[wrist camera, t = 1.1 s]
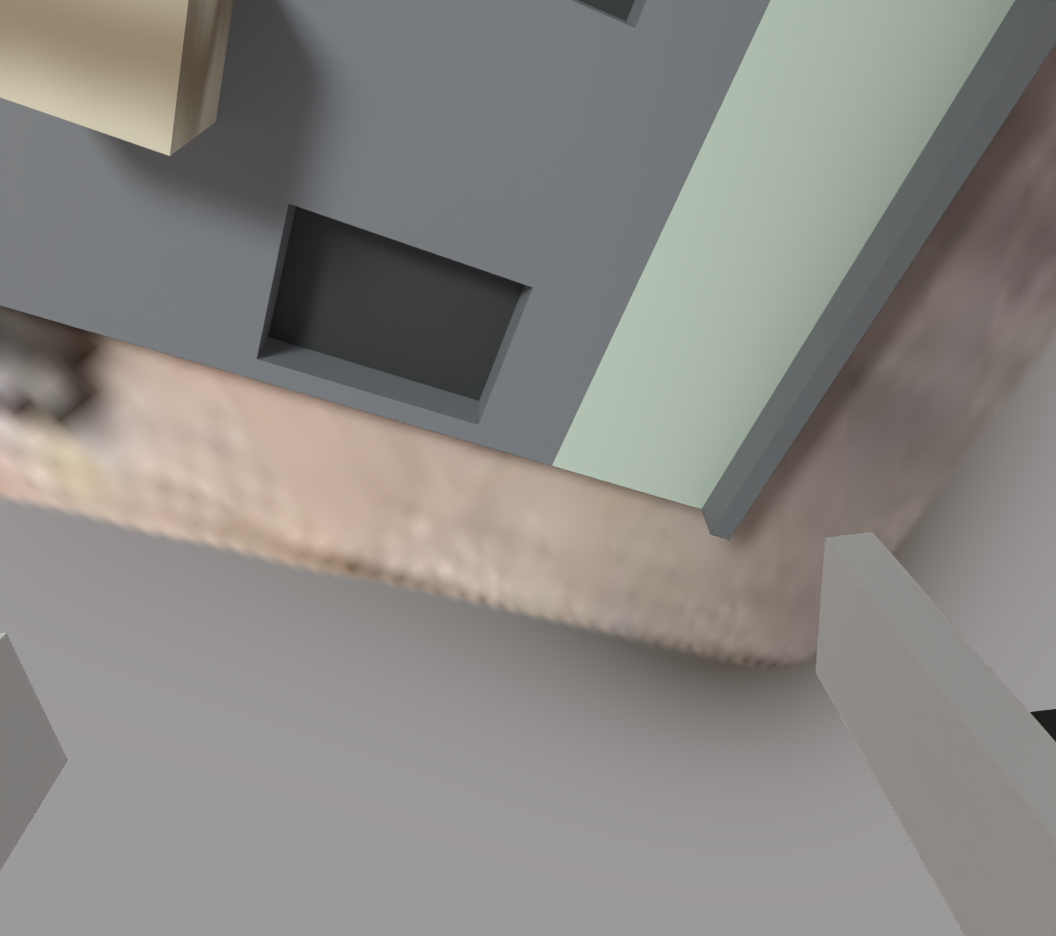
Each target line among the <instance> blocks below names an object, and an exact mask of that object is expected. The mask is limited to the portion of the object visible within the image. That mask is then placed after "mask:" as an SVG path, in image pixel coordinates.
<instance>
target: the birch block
mask: <svg viewBox="0 0 1056 936" xmlns="http://www.w3.org/2000/svg"><path fill="white" fill-rule="evenodd" d="M233 2H234V0H0V98H3V99H6V100H9V101H12V102H15V103H18V104H21V105H24V106H26V107H29V108H32V109H35V110H38V111H41V112H44V113H47V114H50V115H53V116H55V117H58V118H61V119H64V120H67V121H70V122H73V123H76V124H79V125H82V126H84V127H87V128H90V129H93V130H96V131H99V132H102V133H105V134H108V135H110V136H113V137H116V138H119V139H122V140H125V141H128V142H131V143H134V144H137V145H139V146H142V147H145V148H148V149H151V150H154V151H157V152H160V153H163V154H165V155H168V156H170V155H172V154H173V153H175V152H176V151H177V150H179V149H180V148H181V147H183V146H184V145H185V144H187V143H188V142H189V141H191V140H192V139H194V138H195V137H196V136H198V135H199V134H200V133H202V132H203V131H204V130H206V129H207V128H208V127H210V126H211V125H212V124H214V123H215V122H216V117H217V110H218V103H219V97H220V90H221V83H222V76H223V70H224V63H225V56H226V49H227V42H228V36H229V29H230V22H231V15H232V8H233Z"/></svg>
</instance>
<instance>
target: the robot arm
mask: <svg viewBox="0 0 1056 936" xmlns="http://www.w3.org/2000/svg"><path fill="white" fill-rule="evenodd" d="M816 660H817V661H816V674H817V676H818V678H819V679H820V681H821V683H822V685H823V687H824V689H825V690H826V692H827V694H828V696H829V697H830V699H831V701H832V703H833V704H834V706H835V708H836V710H837V711H838V713H839V715H840V717H841V719H842V720H843V722H844V724H845V726H846V727H847V729H848V731H849V733H850V734H851V736H852V738H853V740H854V741H855V743H856V745H857V747H858V748H859V750H860V752H861V754H862V755H863V757H864V759H865V761H866V762H867V764H868V766H869V768H870V770H871V771H872V773H873V775H874V777H875V778H876V780H877V782H878V784H879V785H880V787H881V789H882V791H883V792H884V794H885V796H886V798H887V800H888V801H889V803H890V805H891V806H892V808H893V810H894V812H895V814H896V815H897V817H898V819H899V821H900V823H901V824H902V826H903V828H904V829H905V831H906V833H907V835H908V837H909V838H910V840H911V842H912V844H913V845H914V847H915V849H916V851H917V852H918V854H919V856H920V858H921V860H922V861H923V863H924V865H925V867H926V868H927V870H928V872H929V874H930V875H931V877H932V879H933V881H934V882H935V884H936V886H937V888H938V889H939V891H940V893H941V895H942V896H943V898H944V900H945V902H946V904H947V905H948V907H949V909H950V911H951V912H952V914H953V916H954V918H955V919H956V921H957V923H958V925H959V927H960V928H961V930H962V932H963V933H964V935H965V936H1056V709H1052V710H1044V711H1035V712H1029V711H1028V710H1027V709H1026V707H1025V706H1024V705H1023V704H1022V703H1021V702H1020V700H1019V699H1018V698H1017V697H1016V696H1015V695H1014V694H1013V692H1012V691H1011V690H1010V689H1009V688H1008V687H1007V685H1006V684H1005V683H1004V682H1003V681H1002V680H1001V679H1000V678H999V676H997V674H996V673H995V672H994V671H993V669H992V668H991V667H990V666H989V665H988V664H987V663H986V662H985V660H984V659H983V658H982V657H981V656H980V655H979V653H978V652H977V651H976V650H975V649H974V648H973V647H972V645H971V644H970V643H969V642H968V641H967V640H966V639H965V637H964V636H963V635H962V634H961V633H960V632H959V630H958V629H957V628H956V627H955V626H954V625H953V624H952V622H950V620H949V619H948V618H947V617H946V616H945V614H944V613H943V612H942V611H941V610H940V609H939V608H938V606H937V605H936V604H935V603H934V602H933V601H932V600H931V598H930V597H929V596H928V595H927V594H926V593H925V592H924V590H923V589H922V588H921V587H920V586H919V585H918V584H917V582H916V581H915V580H914V579H913V578H912V577H911V575H910V574H909V573H908V572H907V571H906V570H905V569H904V567H903V566H902V565H901V564H900V563H899V562H898V561H897V559H896V558H895V557H894V556H893V555H892V554H891V553H890V551H889V550H888V549H887V548H886V547H885V546H884V545H883V543H882V542H881V541H880V540H879V539H878V538H877V537H876V535H875V534H874V533H873V532H869V533H860V534H852V535H843V536H835V537H826V538H825V545H824V559H823V573H822V588H821V602H820V616H819V630H818V645H817V659H816ZM66 762H67V758H66V756H65V754H64V751H63V750H62V747H61V745H60V743H59V741H58V739H57V737H56V735H55V733H54V731H53V729H52V727H51V724H50V722H49V720H48V718H47V716H46V714H45V712H44V710H43V708H42V706H41V704H40V702H39V700H38V698H37V695H36V693H35V692H34V689H33V687H32V685H31V683H30V681H29V679H28V677H27V675H26V673H25V671H24V669H23V666H22V664H21V662H20V660H19V658H18V656H17V654H16V652H15V650H14V648H13V646H12V644H11V642H10V640H9V638H8V635H7V633H0V870H1V868H2V867H3V865H4V863H5V862H6V860H7V858H8V857H9V855H10V853H11V852H12V850H13V849H14V847H15V845H16V844H17V842H18V840H19V839H20V837H21V836H22V834H23V832H24V831H25V829H26V827H27V826H28V824H29V822H30V821H31V819H32V818H33V816H34V814H35V813H36V811H37V809H38V808H39V806H40V804H41V803H42V801H43V800H44V798H45V796H46V795H47V793H48V791H49V790H50V788H51V786H52V785H53V783H54V782H55V780H56V778H57V777H58V775H59V773H60V772H61V770H62V769H63V767H64V765H65V764H66Z"/></svg>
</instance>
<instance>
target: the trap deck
mask: <svg viewBox="0 0 1056 936" xmlns="http://www.w3.org/2000/svg"><path fill="white" fill-rule="evenodd" d="M1055 44H1056V0H234V2H233V8H232V15H231V22H230V29H229V36H228V42H227V49H226V56H225V63H224V70H223V76H222V83H221V90H220V97H219V103H218V110H217V117H216V122H215V123H214V124H212V125H211V126H210V127H208V128H207V129H206V130H204V131H203V132H202V133H200V134H199V135H198V136H196V137H195V138H194V139H192V140H191V141H189V142H188V143H187V144H185V145H184V146H183V147H181V148H180V149H179V150H177V151H176V152H175V153H173V154H172V155H170V156H168V155H165V154H163V153H160V152H157V151H154V150H151V149H148V148H145V147H142V146H139V145H137V144H134V143H131V142H128V141H125V140H122V139H119V138H116V137H113V136H110V135H108V134H105V133H102V132H99V131H96V130H93V129H90V128H87V127H84V126H82V125H79V124H76V123H73V122H70V121H67V120H64V119H61V118H58V117H55V116H53V115H50V114H47V113H44V112H41V111H38V110H35V109H32V108H29V107H26V106H24V105H21V104H18V103H15V102H12V101H9V100H6V99H3V98H0V305H1V306H4V307H8V308H11V309H14V310H18V311H21V312H25V313H28V314H32V315H35V316H39V317H42V318H45V319H49V320H52V321H56V322H59V323H63V324H66V325H69V326H73V327H76V328H80V329H83V330H87V331H90V332H94V333H97V334H100V335H104V336H107V337H111V338H114V339H118V340H121V341H125V342H128V343H131V344H135V345H138V346H142V347H145V348H149V349H152V350H155V351H159V352H162V353H166V354H169V355H173V356H176V357H180V358H183V359H186V360H190V361H193V362H197V363H200V364H204V365H207V366H211V367H214V368H217V369H221V370H224V371H228V372H231V373H235V374H238V375H242V376H245V377H248V378H252V379H255V380H259V381H262V382H266V383H269V384H272V385H276V386H279V387H283V388H286V389H290V390H293V391H297V392H300V393H303V394H307V395H310V396H314V397H317V398H321V399H324V400H328V401H331V402H334V403H338V404H341V405H345V406H348V407H352V408H355V409H359V410H362V411H365V412H369V413H372V414H376V415H379V416H383V417H386V418H389V419H393V420H396V421H400V422H403V423H407V424H410V425H414V426H417V427H420V428H424V429H427V430H431V431H434V432H438V433H441V434H445V435H448V436H451V437H455V438H458V439H462V440H465V441H469V442H472V443H475V444H479V445H482V446H486V447H489V448H493V449H496V450H500V451H503V452H506V453H510V454H513V455H517V456H520V457H524V458H527V459H531V460H534V461H537V462H541V463H544V464H548V465H551V466H555V467H558V468H562V469H565V470H568V471H572V472H575V473H579V474H582V475H586V476H589V477H592V478H596V479H599V480H603V481H606V482H610V483H613V484H617V485H620V486H623V487H627V488H630V489H634V490H637V491H641V492H644V493H648V494H651V495H654V496H658V497H661V498H665V499H668V500H672V501H675V502H678V503H682V504H685V505H689V506H692V507H696V508H699V509H702V512H703V515H704V518H705V521H706V524H707V526H708V529H709V532H710V535H713V536H717V537H720V538H724V539H727V540H729V539H730V537H731V536H732V534H733V533H734V531H735V530H736V528H737V527H738V525H739V524H740V522H741V521H742V519H743V518H744V516H745V515H746V513H747V512H748V510H749V509H750V507H751V506H752V504H753V503H754V501H755V499H756V498H757V496H758V495H759V493H760V492H761V490H762V489H763V487H764V486H765V484H766V483H767V481H768V480H769V478H770V477H771V475H772V474H773V472H774V471H775V469H776V468H777V466H778V465H779V463H780V462H781V460H782V458H783V457H784V455H785V454H786V452H787V451H788V449H789V448H790V446H791V445H792V443H793V442H794V440H795V439H796V437H797V436H798V434H799V433H800V431H801V430H802V428H803V427H804V425H805V424H806V422H807V420H808V419H809V417H810V416H811V414H812V413H813V411H814V410H815V408H816V407H817V405H818V404H819V402H820V401H821V399H822V398H823V396H824V395H825V393H826V392H827V390H828V389H829V387H830V386H831V384H832V382H833V381H834V379H835V378H836V376H837V375H838V373H839V372H840V370H841V369H842V367H843V366H844V364H845V363H846V361H847V360H848V358H849V357H850V355H851V354H852V352H853V351H854V349H855V348H856V346H857V345H858V343H859V341H860V340H861V338H862V337H863V335H864V334H865V332H866V331H867V329H868V328H869V326H870V325H871V323H872V322H873V320H874V319H875V317H876V316H877V314H878V313H879V311H880V310H881V308H882V307H883V305H884V303H885V302H886V300H887V299H888V297H889V296H890V294H891V293H892V291H893V290H894V288H895V287H896V285H897V284H898V282H899V281H900V279H901V278H902V276H903V275H904V273H905V272H906V270H907V269H908V267H909V265H910V264H911V262H912V261H913V259H914V258H915V256H916V255H917V253H918V252H919V250H920V249H921V247H922V246H923V244H924V243H925V241H926V240H927V238H928V237H929V235H930V234H931V232H932V231H933V229H934V228H935V226H936V224H937V223H938V221H939V220H940V218H941V217H942V215H943V214H944V212H945V211H946V209H947V208H948V206H949V205H950V203H951V202H952V200H953V199H954V197H955V196H956V194H957V193H958V191H959V190H960V188H961V186H962V185H963V183H964V182H965V180H966V179H967V177H968V176H969V174H970V173H971V171H972V170H973V168H974V167H975V165H976V164H977V162H978V161H979V159H980V158H981V156H982V155H983V153H984V152H985V150H986V148H987V147H988V145H989V144H990V142H991V141H992V139H993V138H994V136H995V135H996V133H997V132H998V130H999V129H1000V127H1001V126H1002V124H1003V123H1004V121H1005V120H1006V118H1007V117H1008V115H1009V114H1010V112H1011V111H1012V109H1013V107H1014V106H1015V104H1016V103H1017V101H1018V100H1019V98H1020V97H1021V95H1022V94H1023V92H1024V91H1025V89H1026V88H1027V86H1028V85H1029V83H1030V82H1031V80H1032V79H1033V77H1034V76H1035V74H1036V73H1037V71H1038V69H1039V68H1040V66H1041V65H1042V63H1043V62H1044V60H1045V59H1046V57H1047V56H1048V54H1049V53H1050V51H1051V50H1052V48H1053V47H1054V45H1055Z"/></svg>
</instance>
